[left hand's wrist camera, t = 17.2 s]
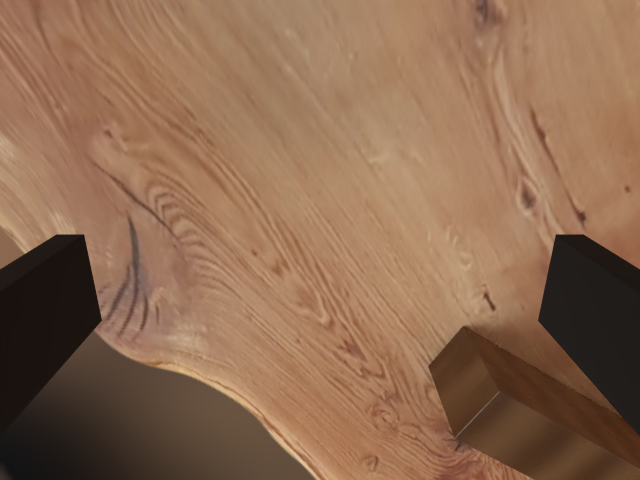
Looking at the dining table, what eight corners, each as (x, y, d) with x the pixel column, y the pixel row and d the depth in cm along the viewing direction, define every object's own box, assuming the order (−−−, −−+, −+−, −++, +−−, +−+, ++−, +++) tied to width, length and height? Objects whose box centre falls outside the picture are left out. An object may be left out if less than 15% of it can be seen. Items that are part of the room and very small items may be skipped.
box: (428, 366, 50) (454, 438, 40) (463, 325, 48) (499, 391, 38) (596, 458, 55) (656, 542, 45) (634, 425, 53) (705, 505, 43)
